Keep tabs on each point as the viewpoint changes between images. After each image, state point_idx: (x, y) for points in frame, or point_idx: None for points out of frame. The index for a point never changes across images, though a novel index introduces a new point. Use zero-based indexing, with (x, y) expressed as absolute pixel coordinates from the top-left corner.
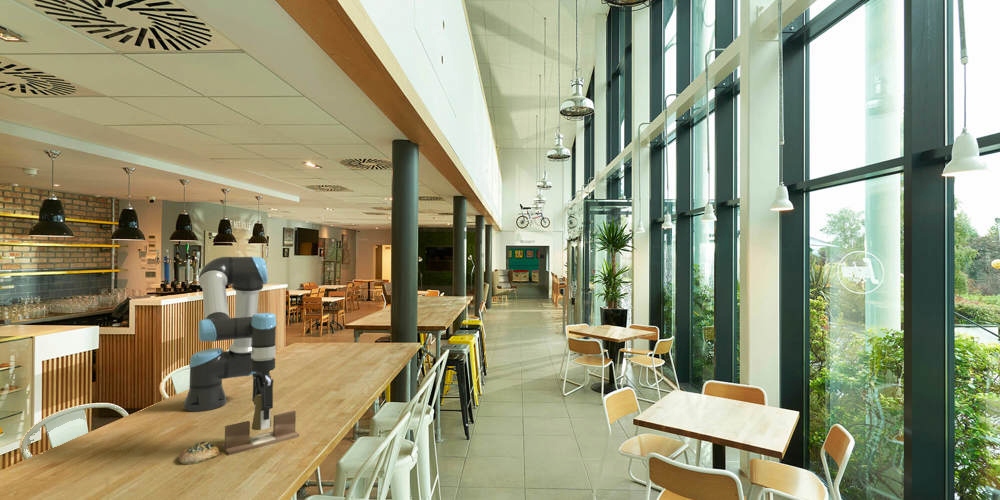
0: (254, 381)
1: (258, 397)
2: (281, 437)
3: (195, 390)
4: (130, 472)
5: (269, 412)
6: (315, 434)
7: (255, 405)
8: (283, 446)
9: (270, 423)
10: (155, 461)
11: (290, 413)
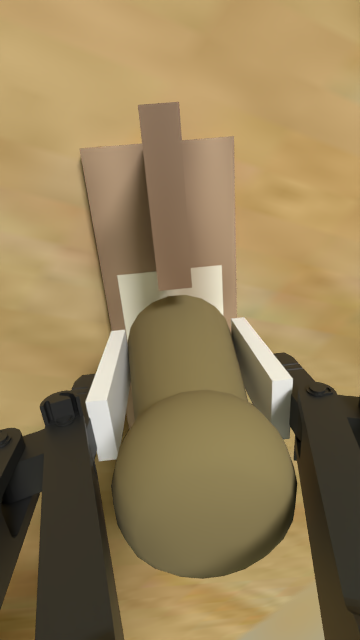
0: None
1: (259, 559)
2: (216, 236)
3: None
4: (183, 602)
5: (280, 366)
6: (262, 35)
7: (108, 456)
8: (301, 248)
9: (211, 311)
10: (142, 571)
11: (181, 157)
